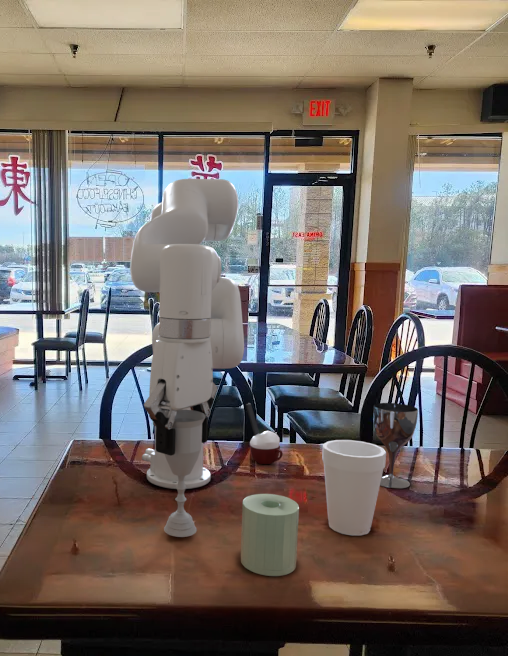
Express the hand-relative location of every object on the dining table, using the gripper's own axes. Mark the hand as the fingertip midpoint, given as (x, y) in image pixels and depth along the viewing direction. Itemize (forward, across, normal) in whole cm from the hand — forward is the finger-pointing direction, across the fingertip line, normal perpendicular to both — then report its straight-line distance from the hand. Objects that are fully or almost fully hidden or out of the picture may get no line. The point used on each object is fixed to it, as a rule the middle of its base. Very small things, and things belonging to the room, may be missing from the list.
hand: (182, 446), depth 86 cm
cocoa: (+15, -40, -8) cm, 44 cm away
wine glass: (+15, -46, +16) cm, 51 cm away
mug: (+14, -3, +14) cm, 20 cm away
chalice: (+14, 0, 0) cm, 14 cm away
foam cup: (+14, -20, +18) cm, 31 cm away
